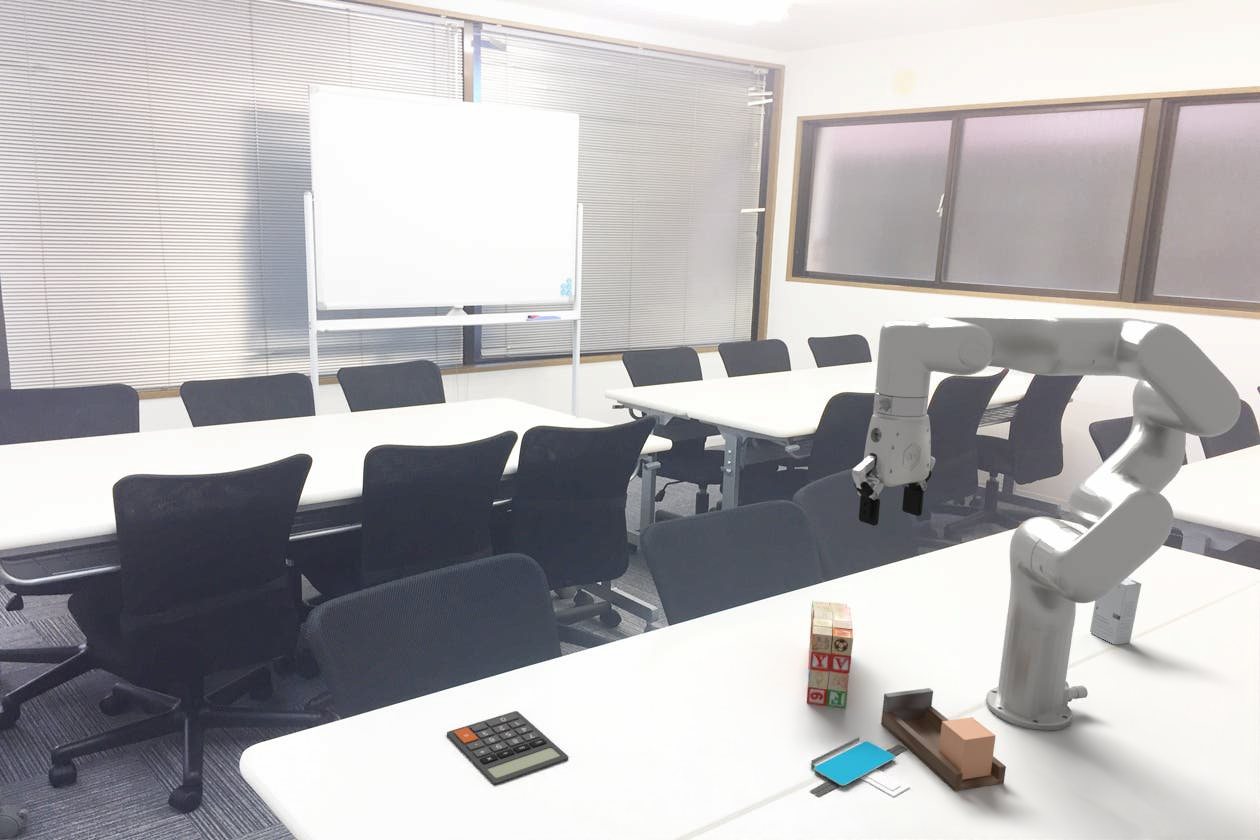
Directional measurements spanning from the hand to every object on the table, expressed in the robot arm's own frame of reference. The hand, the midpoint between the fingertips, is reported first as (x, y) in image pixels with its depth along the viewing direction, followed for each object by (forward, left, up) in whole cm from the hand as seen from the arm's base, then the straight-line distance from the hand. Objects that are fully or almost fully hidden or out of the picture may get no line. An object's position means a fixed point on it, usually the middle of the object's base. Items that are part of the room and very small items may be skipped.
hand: (890, 518), depth 139 cm
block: (-4, +18, -32) cm, 37 cm away
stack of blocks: (+1, -13, -32) cm, 35 cm away
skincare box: (-61, -15, -32) cm, 71 cm away
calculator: (+57, -4, -32) cm, 66 cm away
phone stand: (+10, +14, -33) cm, 37 cm away
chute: (-4, +12, -32) cm, 34 cm away
